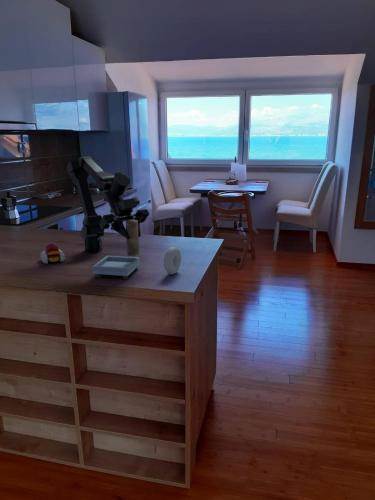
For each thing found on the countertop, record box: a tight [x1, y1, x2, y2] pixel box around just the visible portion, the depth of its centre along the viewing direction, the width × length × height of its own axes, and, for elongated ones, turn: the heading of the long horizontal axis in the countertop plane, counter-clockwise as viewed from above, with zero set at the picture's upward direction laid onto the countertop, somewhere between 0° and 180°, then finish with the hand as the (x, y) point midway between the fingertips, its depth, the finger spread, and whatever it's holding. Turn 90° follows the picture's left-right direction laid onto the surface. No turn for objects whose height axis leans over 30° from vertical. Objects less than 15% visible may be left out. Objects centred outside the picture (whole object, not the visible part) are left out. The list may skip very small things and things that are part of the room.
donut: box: [163, 246, 182, 275], centre depth 138 cm, size 10×4×10 cm, turn 156°
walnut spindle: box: [125, 220, 140, 257], centre depth 140 cm, size 4×4×12 cm
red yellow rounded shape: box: [39, 242, 66, 265], centre depth 154 cm, size 8×10×7 cm
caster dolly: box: [91, 255, 141, 280], centre depth 140 cm, size 13×13×4 cm
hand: (134, 237), depth 139 cm, fingers closed on walnut spindle, 4 cm apart
